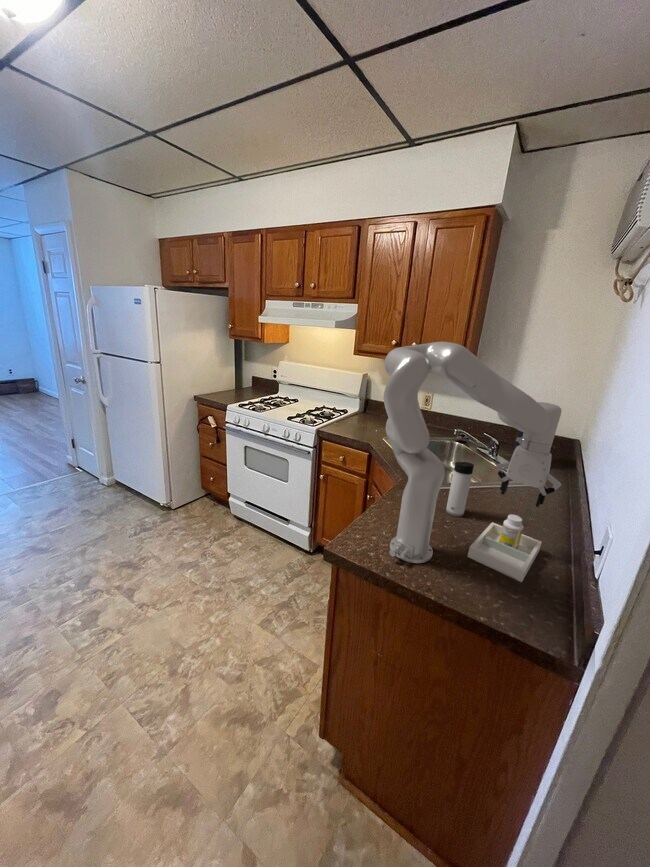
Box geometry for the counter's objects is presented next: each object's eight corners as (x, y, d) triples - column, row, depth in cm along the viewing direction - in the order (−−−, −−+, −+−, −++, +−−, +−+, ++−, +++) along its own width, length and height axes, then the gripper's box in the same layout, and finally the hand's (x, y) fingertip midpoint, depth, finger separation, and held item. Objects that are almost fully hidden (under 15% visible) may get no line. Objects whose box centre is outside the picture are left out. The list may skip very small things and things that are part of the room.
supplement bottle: (511, 540, 116) (518, 513, 113) (521, 551, 111) (529, 522, 107) (494, 540, 115) (501, 512, 112) (504, 551, 110) (511, 522, 107)
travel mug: (453, 518, 128) (463, 466, 122) (442, 508, 134) (452, 459, 128) (467, 516, 130) (478, 465, 124) (456, 507, 136) (466, 458, 130)
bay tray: (521, 582, 98) (524, 571, 97) (467, 556, 107) (469, 546, 106) (539, 551, 112) (541, 541, 111) (489, 531, 122) (492, 522, 120)
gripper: (499, 439, 105) (486, 492, 110) (568, 458, 94) (549, 515, 100) (507, 435, 111) (494, 485, 116) (572, 452, 100) (555, 506, 105)
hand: (520, 499), depth 108 cm, fingers open, 9 cm apart
